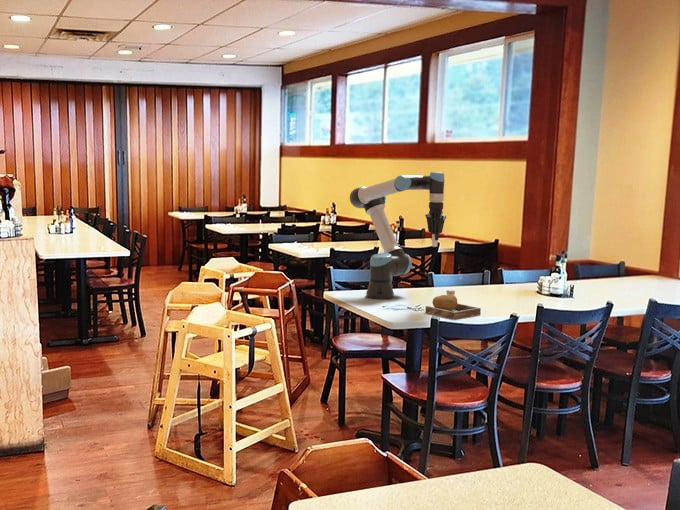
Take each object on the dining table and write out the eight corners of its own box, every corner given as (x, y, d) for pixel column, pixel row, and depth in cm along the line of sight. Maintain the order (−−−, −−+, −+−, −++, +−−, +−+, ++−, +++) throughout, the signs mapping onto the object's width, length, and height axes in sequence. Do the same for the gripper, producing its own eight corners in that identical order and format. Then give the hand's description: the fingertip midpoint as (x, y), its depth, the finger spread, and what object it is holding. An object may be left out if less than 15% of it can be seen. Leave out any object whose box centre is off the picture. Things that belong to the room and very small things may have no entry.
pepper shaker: (444, 306, 363) (444, 290, 362) (449, 305, 366) (450, 289, 365) (450, 307, 360) (451, 291, 359) (455, 306, 362) (456, 290, 361)
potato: (426, 310, 351) (427, 294, 350) (448, 308, 358) (449, 292, 357) (439, 314, 343) (439, 298, 342) (461, 311, 350) (462, 295, 349)
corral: (425, 312, 347) (425, 306, 346) (451, 307, 359) (451, 302, 359) (454, 318, 333) (454, 312, 332) (480, 314, 345) (480, 308, 344)
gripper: (422, 201, 372) (420, 245, 375) (440, 202, 362) (438, 248, 365) (431, 200, 377) (430, 244, 380) (450, 202, 367) (448, 247, 370)
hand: (434, 246), depth 372 cm, fingers closed
